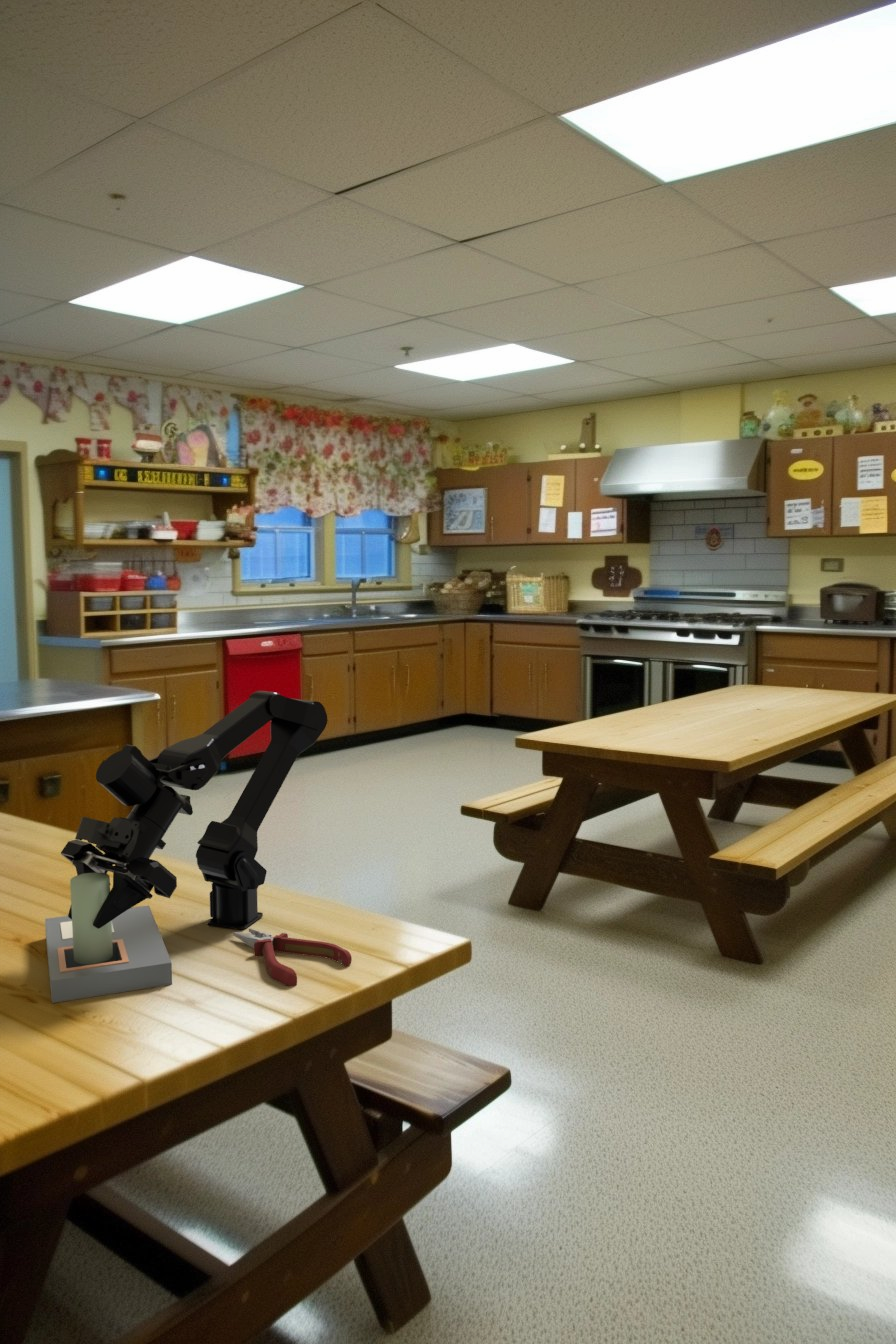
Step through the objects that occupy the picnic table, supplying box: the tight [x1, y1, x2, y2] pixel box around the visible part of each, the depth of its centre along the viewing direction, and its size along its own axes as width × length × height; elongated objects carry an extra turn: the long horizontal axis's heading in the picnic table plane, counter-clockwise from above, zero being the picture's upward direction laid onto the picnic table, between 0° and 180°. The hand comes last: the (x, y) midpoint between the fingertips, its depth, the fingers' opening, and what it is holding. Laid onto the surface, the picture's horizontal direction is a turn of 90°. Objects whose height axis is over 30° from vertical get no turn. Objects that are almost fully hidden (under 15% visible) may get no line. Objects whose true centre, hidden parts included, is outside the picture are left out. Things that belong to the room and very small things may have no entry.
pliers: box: [232, 928, 353, 987], centre depth 146 cm, size 11×20×3 cm, turn 45°
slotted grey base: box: [44, 904, 173, 1004], centre depth 144 cm, size 24×15×3 cm, turn 23°
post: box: [69, 873, 113, 964], centre depth 137 cm, size 5×5×11 cm
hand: (83, 922), depth 136 cm, fingers closed on post, 5 cm apart
